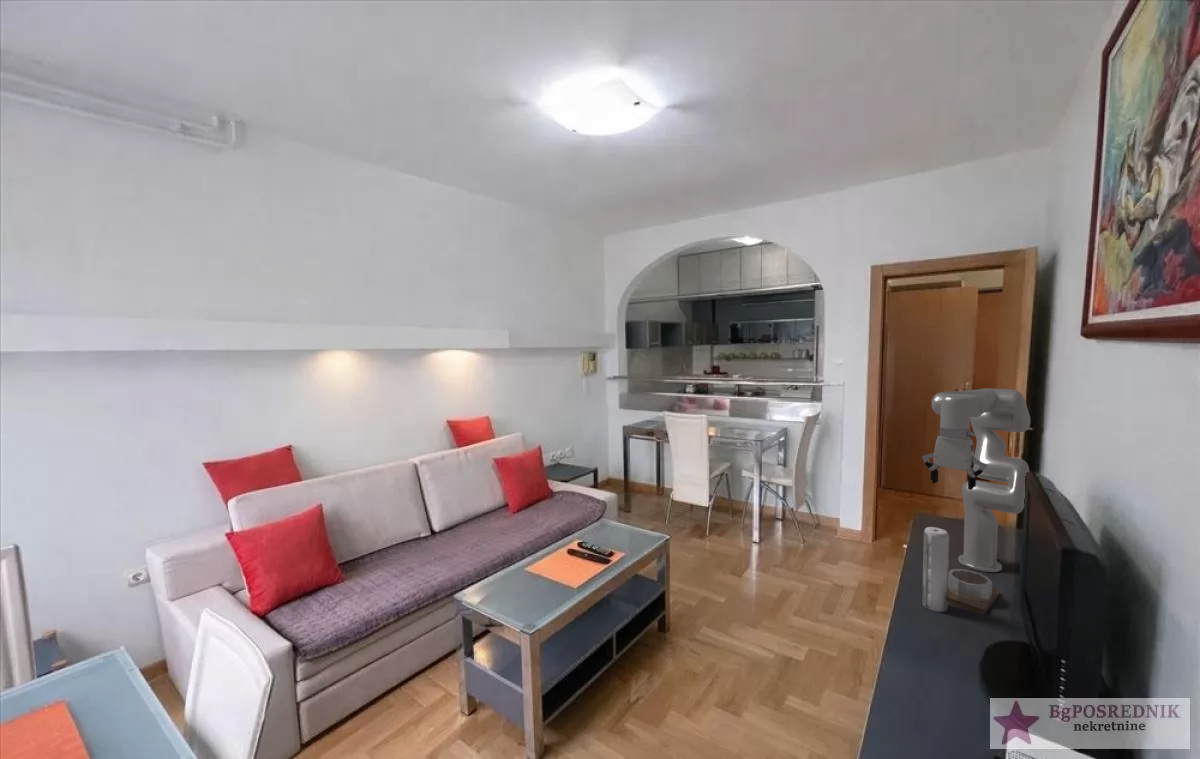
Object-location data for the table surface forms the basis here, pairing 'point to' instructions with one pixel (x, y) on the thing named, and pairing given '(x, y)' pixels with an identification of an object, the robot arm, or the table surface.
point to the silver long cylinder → (935, 569)
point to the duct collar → (971, 590)
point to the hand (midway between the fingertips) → (952, 485)
